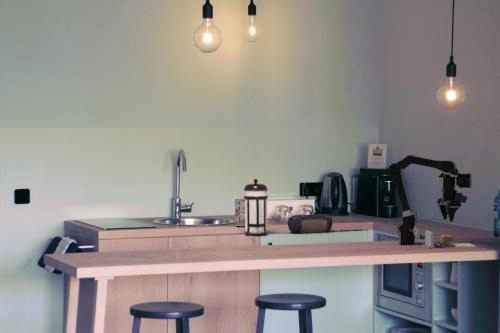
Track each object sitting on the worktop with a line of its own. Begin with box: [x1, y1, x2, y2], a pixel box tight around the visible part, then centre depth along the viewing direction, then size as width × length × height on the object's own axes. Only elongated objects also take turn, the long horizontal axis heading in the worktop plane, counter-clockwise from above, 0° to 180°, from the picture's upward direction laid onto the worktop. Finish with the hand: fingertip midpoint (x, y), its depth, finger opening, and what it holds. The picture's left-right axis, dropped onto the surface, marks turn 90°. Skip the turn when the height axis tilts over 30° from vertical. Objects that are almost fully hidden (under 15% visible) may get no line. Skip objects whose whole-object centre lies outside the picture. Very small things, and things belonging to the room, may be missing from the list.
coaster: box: [453, 242, 477, 249], centre depth 379 cm, size 9×9×1 cm
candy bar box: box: [234, 198, 245, 223], centre depth 478 cm, size 11×5×16 cm, turn 130°
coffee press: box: [243, 178, 269, 237], centre depth 431 cm, size 17×16×30 cm
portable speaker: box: [287, 213, 333, 235], centre depth 443 cm, size 25×10×10 cm, turn 109°
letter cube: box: [439, 234, 454, 248], centre depth 379 cm, size 5×5×5 cm
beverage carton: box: [396, 222, 421, 240], centre depth 421 cm, size 8×19×7 cm, turn 2°
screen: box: [423, 230, 436, 249], centre depth 379 cm, size 3×11×7 cm, turn 2°
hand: (448, 220), depth 380 cm, fingers open, 9 cm apart
